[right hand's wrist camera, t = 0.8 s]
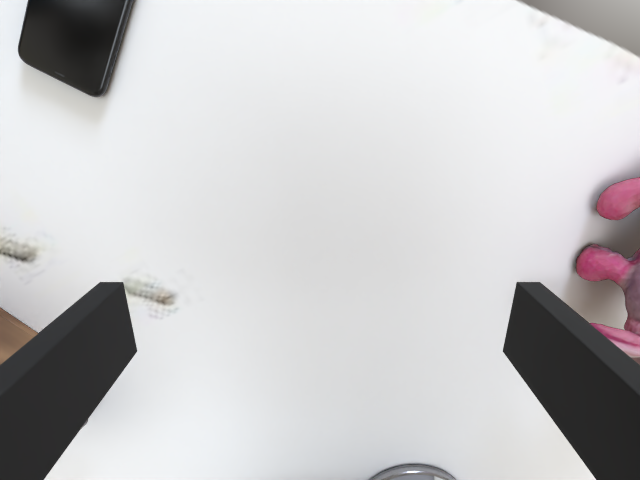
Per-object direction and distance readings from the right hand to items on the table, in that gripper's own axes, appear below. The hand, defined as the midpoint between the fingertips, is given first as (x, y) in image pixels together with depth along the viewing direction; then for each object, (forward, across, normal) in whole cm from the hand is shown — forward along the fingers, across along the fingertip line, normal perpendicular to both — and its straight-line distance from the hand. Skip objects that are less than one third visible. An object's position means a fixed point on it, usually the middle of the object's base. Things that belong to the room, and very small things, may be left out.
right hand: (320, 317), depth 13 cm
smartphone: (+27, +20, -16) cm, 37 cm away
